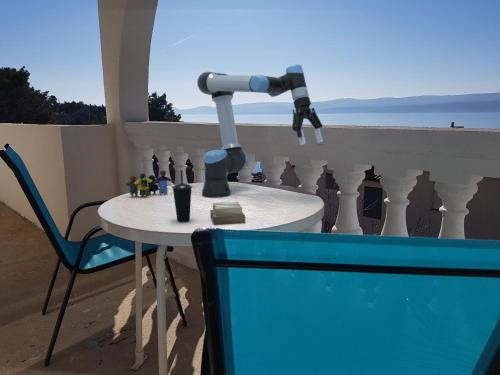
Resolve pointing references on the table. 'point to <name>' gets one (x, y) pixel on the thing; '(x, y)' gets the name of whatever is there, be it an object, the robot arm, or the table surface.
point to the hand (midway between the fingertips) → (311, 143)
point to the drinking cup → (182, 200)
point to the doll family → (148, 185)
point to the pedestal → (227, 213)
